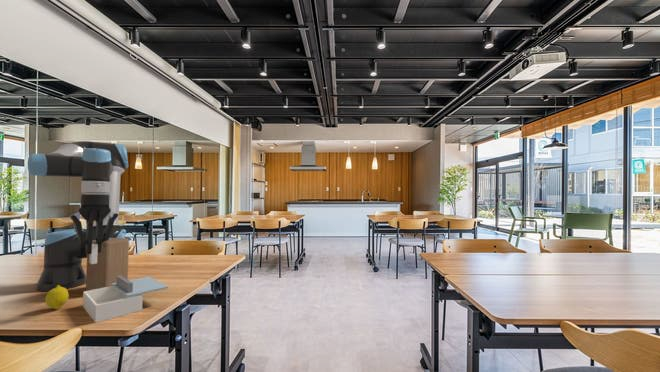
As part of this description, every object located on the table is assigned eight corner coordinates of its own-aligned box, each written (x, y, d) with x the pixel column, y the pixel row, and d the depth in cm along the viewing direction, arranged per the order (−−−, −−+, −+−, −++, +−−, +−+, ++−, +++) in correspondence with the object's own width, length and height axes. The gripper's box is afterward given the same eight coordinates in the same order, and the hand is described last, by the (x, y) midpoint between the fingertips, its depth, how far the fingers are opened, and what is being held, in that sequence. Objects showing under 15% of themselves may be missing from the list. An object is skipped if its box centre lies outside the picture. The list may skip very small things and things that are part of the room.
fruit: (55, 306, 95) (56, 282, 95) (72, 305, 96) (73, 282, 96) (39, 313, 90) (40, 287, 90) (58, 312, 90) (59, 287, 90)
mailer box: (82, 306, 95) (83, 291, 95) (125, 296, 104) (125, 283, 104) (95, 322, 83) (96, 305, 83) (142, 310, 92) (142, 294, 92)
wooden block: (105, 294, 107) (106, 241, 108) (84, 292, 109) (86, 240, 110) (128, 286, 117) (130, 238, 118) (109, 284, 119) (110, 237, 120)
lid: (111, 285, 101) (112, 275, 101) (149, 278, 110) (149, 268, 110) (127, 297, 89) (127, 285, 89) (168, 288, 98) (168, 277, 98)
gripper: (72, 193, 88) (69, 269, 87) (122, 194, 98) (120, 261, 98) (67, 193, 93) (64, 265, 92) (115, 193, 103) (113, 258, 102)
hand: (93, 263), depth 95 cm, fingers closed
